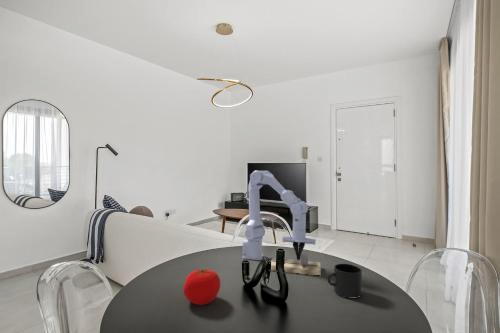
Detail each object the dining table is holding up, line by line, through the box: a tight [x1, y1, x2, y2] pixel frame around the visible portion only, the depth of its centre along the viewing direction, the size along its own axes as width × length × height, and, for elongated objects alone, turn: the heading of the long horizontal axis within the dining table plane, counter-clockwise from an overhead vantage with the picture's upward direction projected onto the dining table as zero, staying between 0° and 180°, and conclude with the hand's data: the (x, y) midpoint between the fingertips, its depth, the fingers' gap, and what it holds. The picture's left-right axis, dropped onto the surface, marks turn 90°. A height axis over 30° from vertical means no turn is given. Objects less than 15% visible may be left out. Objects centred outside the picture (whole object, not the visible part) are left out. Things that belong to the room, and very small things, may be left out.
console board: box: [270, 257, 322, 277], centre depth 118 cm, size 22×10×2 cm, turn 76°
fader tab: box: [300, 253, 309, 266], centre depth 117 cm, size 3×4×4 cm
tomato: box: [183, 268, 221, 306], centre depth 88 cm, size 11×12×10 cm
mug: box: [327, 263, 363, 297], centre depth 96 cm, size 9×12×9 cm
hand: (298, 259), depth 118 cm, fingers closed
